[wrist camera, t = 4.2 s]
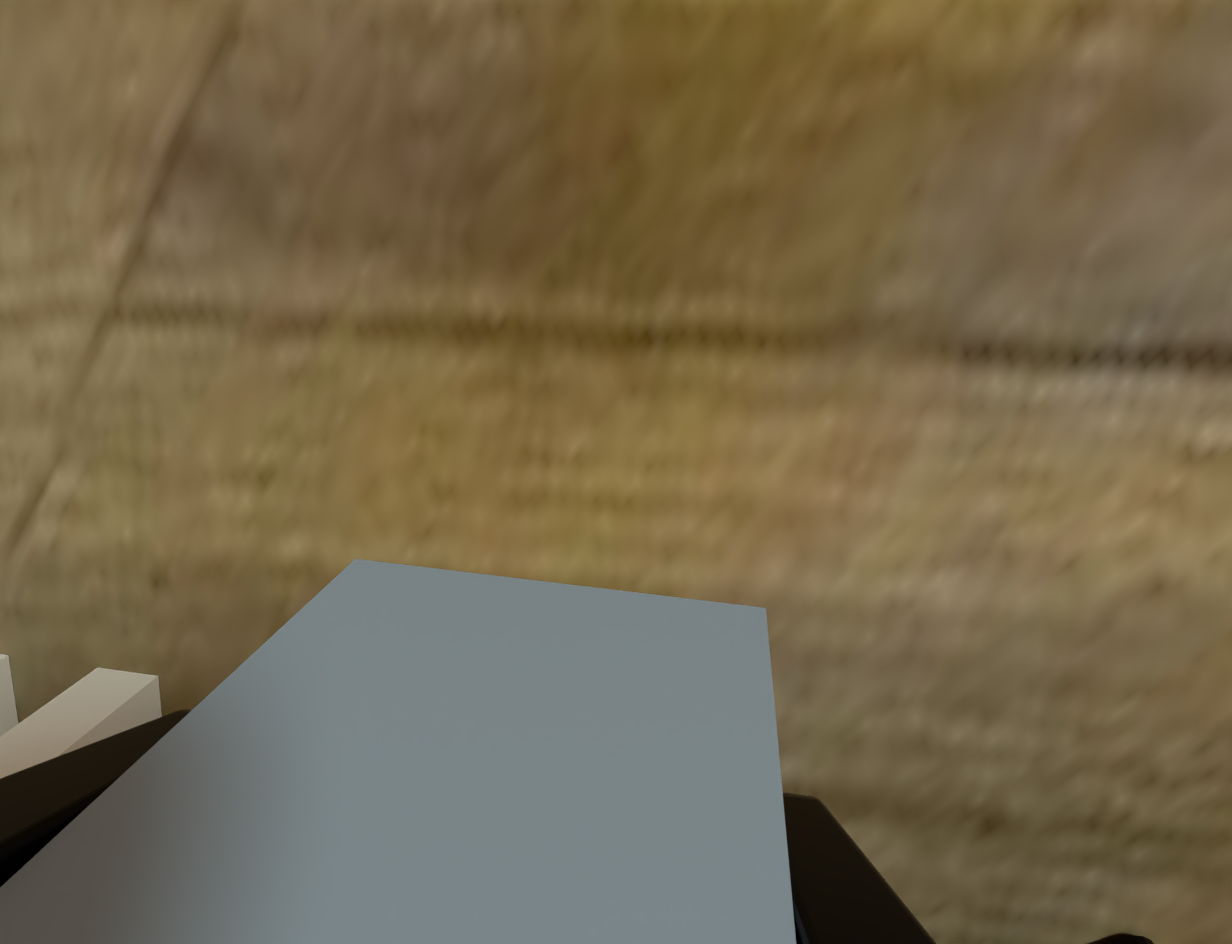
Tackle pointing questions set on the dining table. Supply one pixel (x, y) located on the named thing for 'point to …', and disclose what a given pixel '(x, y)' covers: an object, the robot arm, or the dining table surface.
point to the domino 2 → (81, 717)
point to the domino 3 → (447, 781)
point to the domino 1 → (6, 697)
